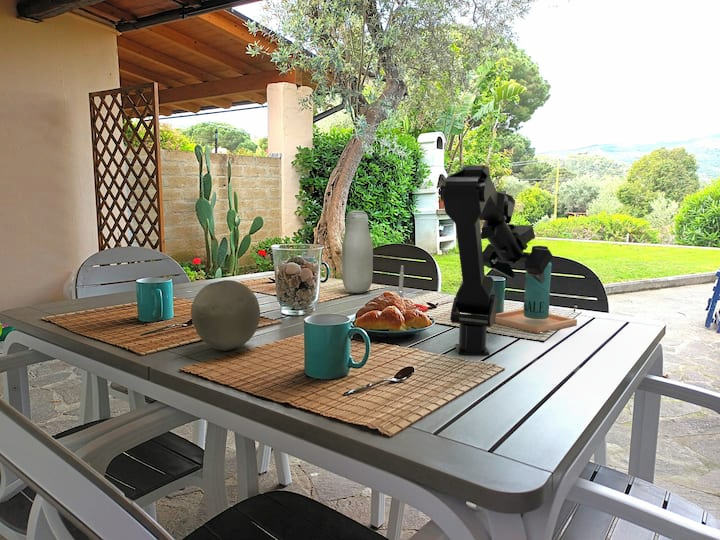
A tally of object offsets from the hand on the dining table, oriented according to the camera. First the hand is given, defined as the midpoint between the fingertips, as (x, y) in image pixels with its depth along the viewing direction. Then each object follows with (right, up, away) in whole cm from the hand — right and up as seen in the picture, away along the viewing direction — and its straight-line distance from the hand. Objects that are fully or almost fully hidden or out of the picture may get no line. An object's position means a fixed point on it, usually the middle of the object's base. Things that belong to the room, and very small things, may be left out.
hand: (528, 279), depth 134 cm
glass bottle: (-44, -6, +43) cm, 62 cm away
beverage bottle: (+3, -11, +2) cm, 12 cm away
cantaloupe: (-71, -15, -23) cm, 77 cm away
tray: (+2, -11, +3) cm, 12 cm away
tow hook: (-28, -9, +18) cm, 35 cm away
